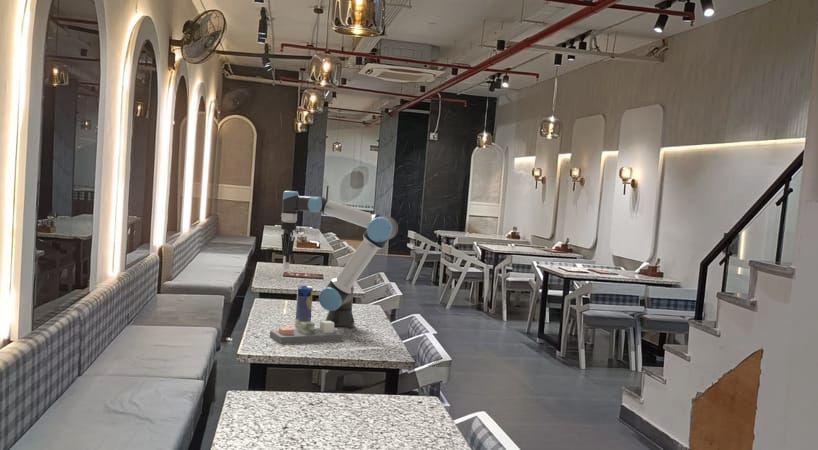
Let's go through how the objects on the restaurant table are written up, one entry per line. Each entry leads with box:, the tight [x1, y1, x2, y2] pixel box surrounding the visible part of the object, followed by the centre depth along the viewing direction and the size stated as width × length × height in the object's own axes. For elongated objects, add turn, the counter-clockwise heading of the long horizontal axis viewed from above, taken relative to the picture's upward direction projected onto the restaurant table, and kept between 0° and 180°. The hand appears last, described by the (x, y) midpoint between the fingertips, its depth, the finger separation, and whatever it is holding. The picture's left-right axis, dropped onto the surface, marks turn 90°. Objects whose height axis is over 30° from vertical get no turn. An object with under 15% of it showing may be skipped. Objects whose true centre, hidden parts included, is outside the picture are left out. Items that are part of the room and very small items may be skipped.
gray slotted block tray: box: [269, 327, 344, 345], centre depth 329 cm, size 30×14×4 cm, turn 121°
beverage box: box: [294, 285, 314, 329], centre depth 346 cm, size 7×11×22 cm, turn 10°
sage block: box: [300, 321, 315, 334], centre depth 329 cm, size 5×5×5 cm
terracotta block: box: [278, 326, 294, 335], centre depth 324 cm, size 5×5×5 cm
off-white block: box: [319, 320, 335, 333], centre depth 334 cm, size 5×5×5 cm
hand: (285, 268), depth 359 cm, fingers closed
